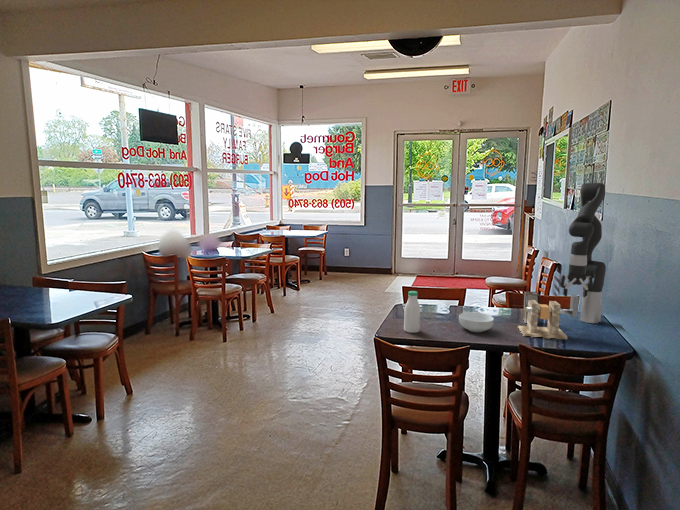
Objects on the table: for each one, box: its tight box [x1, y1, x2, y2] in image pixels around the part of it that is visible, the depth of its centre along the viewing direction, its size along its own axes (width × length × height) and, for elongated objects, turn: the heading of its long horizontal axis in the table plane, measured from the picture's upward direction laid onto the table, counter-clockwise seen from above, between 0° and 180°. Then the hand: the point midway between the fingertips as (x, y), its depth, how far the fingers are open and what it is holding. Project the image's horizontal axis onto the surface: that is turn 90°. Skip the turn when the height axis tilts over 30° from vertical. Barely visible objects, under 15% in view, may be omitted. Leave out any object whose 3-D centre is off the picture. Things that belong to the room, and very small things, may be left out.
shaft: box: [526, 294, 580, 318], centre depth 241 cm, size 23×4×10 cm, turn 82°
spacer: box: [538, 303, 550, 321], centre depth 242 cm, size 4×6×6 cm, turn 172°
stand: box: [517, 300, 568, 341], centre depth 242 cm, size 20×14×16 cm
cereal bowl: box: [458, 311, 495, 333], centre depth 247 cm, size 17×17×7 cm
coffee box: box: [522, 291, 541, 324], centre depth 262 cm, size 9×6×16 cm
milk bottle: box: [403, 290, 421, 334], centre depth 243 cm, size 8×8×20 cm
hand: (574, 296), depth 238 cm, fingers open, 8 cm apart
